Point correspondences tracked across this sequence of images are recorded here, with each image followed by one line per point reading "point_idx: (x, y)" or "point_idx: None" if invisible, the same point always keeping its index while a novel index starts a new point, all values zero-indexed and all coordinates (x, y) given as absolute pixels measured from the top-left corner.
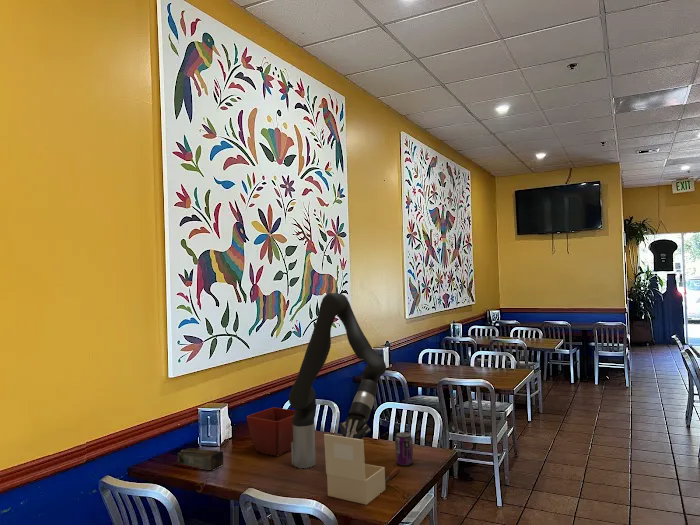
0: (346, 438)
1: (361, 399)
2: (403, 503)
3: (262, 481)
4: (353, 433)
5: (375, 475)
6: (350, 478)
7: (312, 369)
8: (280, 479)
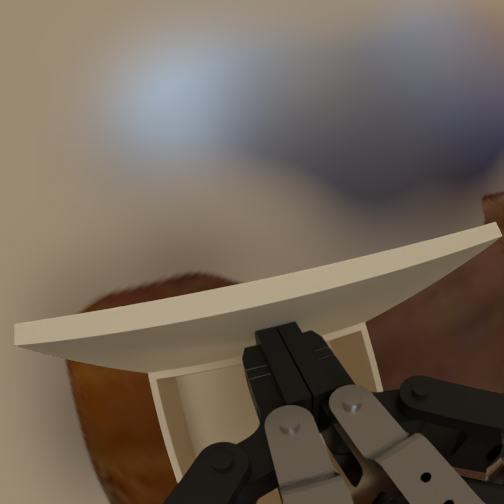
0: (247, 284)
1: None
2: (87, 443)
3: (499, 264)
4: (292, 473)
5: (173, 463)
6: (235, 358)
7: None
8: (492, 303)
